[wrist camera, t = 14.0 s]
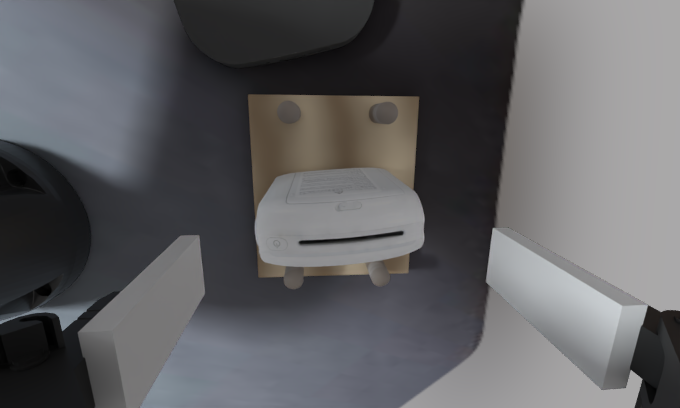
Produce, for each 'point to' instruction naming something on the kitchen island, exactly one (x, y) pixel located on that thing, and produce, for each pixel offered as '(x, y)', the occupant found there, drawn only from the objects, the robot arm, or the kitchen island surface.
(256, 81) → the kitchen island surface
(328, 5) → the media streaming box
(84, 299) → the kitchen island surface
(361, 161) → the peg board
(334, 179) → the photo printer
